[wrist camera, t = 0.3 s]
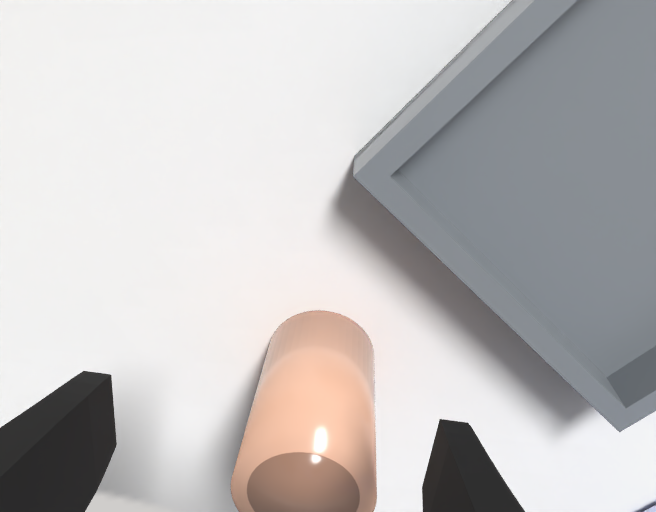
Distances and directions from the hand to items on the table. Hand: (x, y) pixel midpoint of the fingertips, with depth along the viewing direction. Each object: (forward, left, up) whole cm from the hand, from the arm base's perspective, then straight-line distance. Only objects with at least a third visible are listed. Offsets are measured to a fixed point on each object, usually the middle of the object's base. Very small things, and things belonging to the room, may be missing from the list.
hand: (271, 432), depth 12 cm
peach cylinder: (-4, +3, -10) cm, 11 cm away
